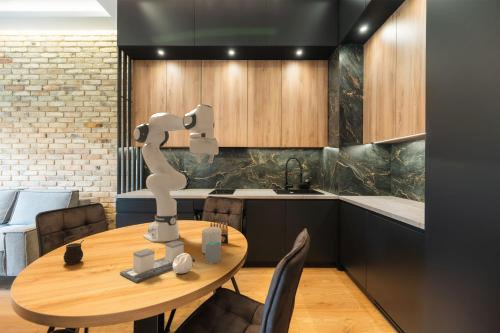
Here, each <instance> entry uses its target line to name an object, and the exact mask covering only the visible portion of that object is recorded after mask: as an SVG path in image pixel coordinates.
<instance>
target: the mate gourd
mask: <svg viewBox="0 0 500 333" xmlns="http://www.w3.org/2000/svg"><path fill="white" fill-rule="evenodd" d="M84 241H85V239H82V241H80V242H74V243H68V244H66V245H65V251H64V254H63V261H64V264H67V265H77V264H79V263H80V262H81V261H82V260H83V257H84V252H83V250H82V243H83V242H84Z"/></svg>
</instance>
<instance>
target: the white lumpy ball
mask: <svg viewBox="0 0 500 333" xmlns="http://www.w3.org/2000/svg"><path fill="white" fill-rule="evenodd" d="M192 258H193V257H191V255H190V254H189V253H187V252H184V253H183V254H180V255H178V256H177V257H176V259H175V260H174V262H173V264H172V265H173V269H172V270H173V271H174V272H175V273H177V274H181V275H182V274H185V273H188V272H189V271H190V270H191V268H192V266H193V262H192Z"/></svg>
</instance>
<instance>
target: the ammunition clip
mask: <svg viewBox="0 0 500 333" xmlns="http://www.w3.org/2000/svg"><path fill="white" fill-rule="evenodd" d="M210 227H218V228H221V245H222V244H225V245H228V243H229V229H228V222H227V221H226V222H224V221H223V222H221V221H219V222H218V221H216V222H215V221H211V222H210Z"/></svg>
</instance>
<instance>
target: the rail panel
mask: <svg viewBox="0 0 500 333" xmlns="http://www.w3.org/2000/svg"><path fill="white" fill-rule="evenodd" d="M165 257H166V256H164V257H162V258H159V259H156V260H155V259H154V268H153V269H150V270H147V271H144V272H142V273H138V272H136V271H134V270H133V267H131V268H129V269H125V270H122V271H120V272H119V275H120V276H122V277H124V278H126V279H128V280H130V281H132V282H134V283H136V284H138V283H140V282H141V283H142V282H143V281H146V280H148V279H151V278H153V277H156V276H158V275H161V274H163V273H164V274H165V273H166V272H169V271H172V270H174V269H173V265H172V264H173V262H174V261H169V260H166V259H165ZM191 258H192V263H194V262H195V258H194V257H191Z"/></svg>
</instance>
